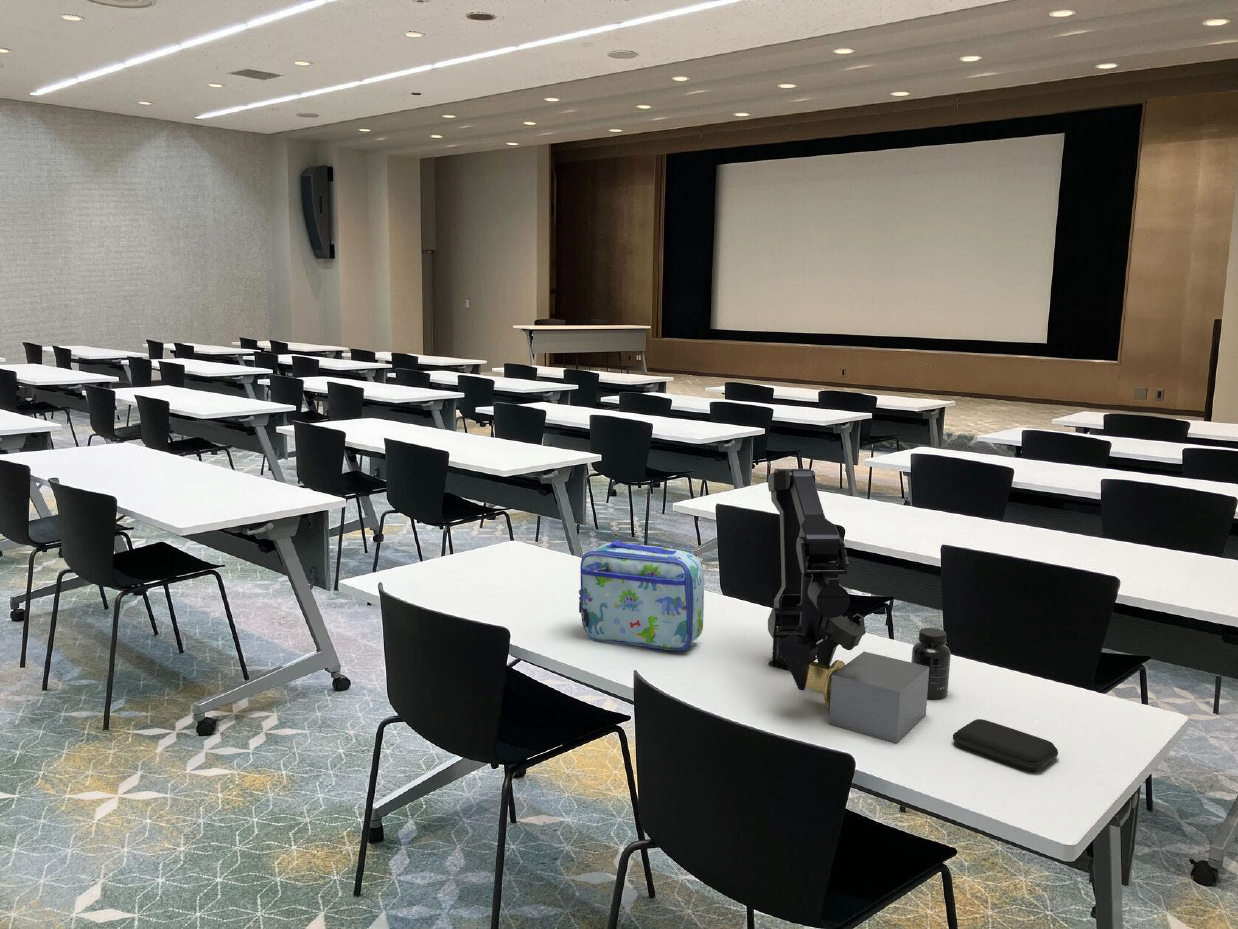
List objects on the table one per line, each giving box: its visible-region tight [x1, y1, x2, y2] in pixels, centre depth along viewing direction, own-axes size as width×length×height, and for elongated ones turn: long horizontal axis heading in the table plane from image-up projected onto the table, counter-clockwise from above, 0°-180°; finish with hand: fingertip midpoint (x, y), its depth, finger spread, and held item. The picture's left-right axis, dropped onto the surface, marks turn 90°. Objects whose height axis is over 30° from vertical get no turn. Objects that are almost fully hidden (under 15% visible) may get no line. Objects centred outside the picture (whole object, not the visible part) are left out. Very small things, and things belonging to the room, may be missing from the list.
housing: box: [828, 650, 929, 744], centre depth 170 cm, size 12×14×9 cm
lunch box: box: [578, 539, 705, 652], centre depth 206 cm, size 26×11×21 cm, turn 65°
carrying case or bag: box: [952, 718, 1059, 773], centre depth 160 cm, size 11×3×15 cm
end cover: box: [805, 659, 846, 708], centre depth 175 cm, size 11×8×8 cm
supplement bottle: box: [910, 627, 952, 701], centre depth 182 cm, size 7×7×12 cm
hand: (812, 682), depth 178 cm, fingers open, 9 cm apart
